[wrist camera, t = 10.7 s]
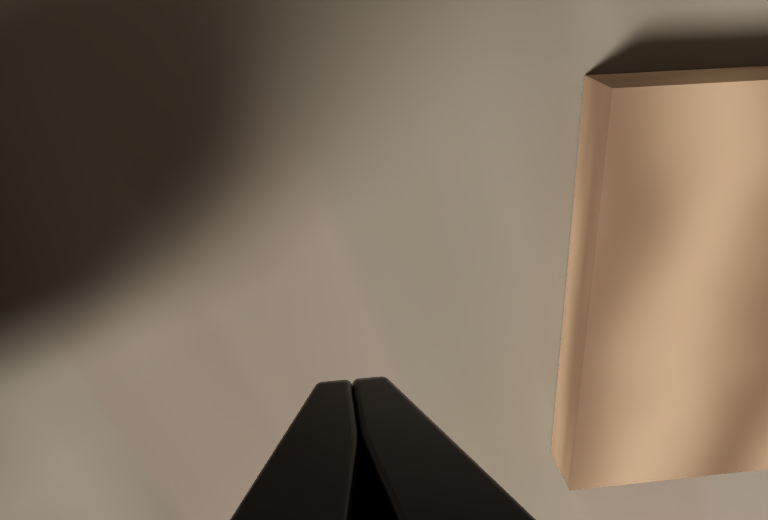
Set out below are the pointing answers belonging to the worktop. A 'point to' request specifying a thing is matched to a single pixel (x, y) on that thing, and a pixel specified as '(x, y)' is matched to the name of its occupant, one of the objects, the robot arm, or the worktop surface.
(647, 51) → the worktop surface
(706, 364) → the tan wooden slab
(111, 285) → the worktop surface
